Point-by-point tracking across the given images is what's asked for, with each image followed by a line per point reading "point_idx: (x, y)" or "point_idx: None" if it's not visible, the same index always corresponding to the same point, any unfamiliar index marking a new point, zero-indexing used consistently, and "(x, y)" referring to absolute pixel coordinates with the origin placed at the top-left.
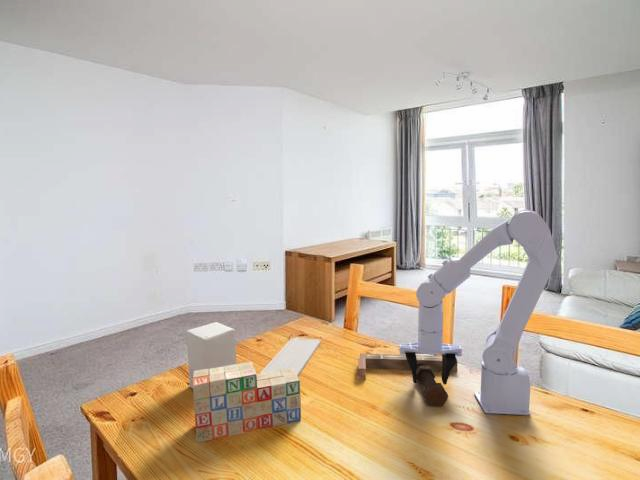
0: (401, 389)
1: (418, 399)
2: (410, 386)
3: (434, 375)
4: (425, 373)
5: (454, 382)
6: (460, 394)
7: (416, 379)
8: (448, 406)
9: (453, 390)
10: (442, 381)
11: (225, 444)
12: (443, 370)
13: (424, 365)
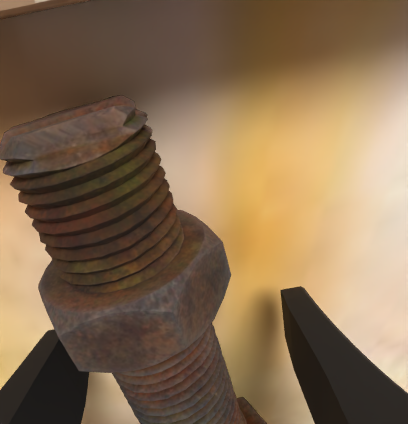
0: (3, 348)
1: (126, 399)
2: None
3: (224, 293)
4: (142, 382)
5: (384, 171)
6: (373, 308)
7: (80, 410)
8: (277, 408)
9: (342, 279)
10: (283, 312)
11: None
12: (320, 399)
13: (110, 222)
